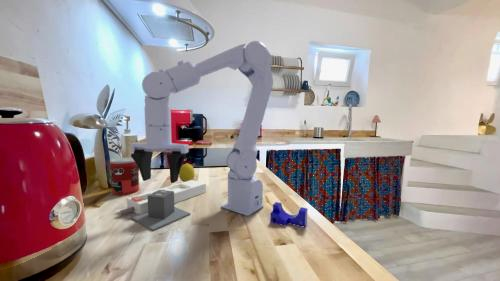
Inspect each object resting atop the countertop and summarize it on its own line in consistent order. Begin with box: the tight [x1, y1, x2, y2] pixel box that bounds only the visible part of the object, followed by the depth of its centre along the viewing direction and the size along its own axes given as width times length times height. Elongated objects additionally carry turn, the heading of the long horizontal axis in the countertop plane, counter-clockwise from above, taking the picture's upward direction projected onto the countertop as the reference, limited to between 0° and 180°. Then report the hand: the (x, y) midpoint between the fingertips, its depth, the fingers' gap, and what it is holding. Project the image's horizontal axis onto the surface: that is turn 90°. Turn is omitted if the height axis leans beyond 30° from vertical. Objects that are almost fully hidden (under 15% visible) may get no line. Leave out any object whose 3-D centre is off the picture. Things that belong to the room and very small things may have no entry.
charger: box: [148, 189, 175, 219], centre depth 54 cm, size 4×4×6 cm
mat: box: [130, 206, 191, 232], centre depth 54 cm, size 10×10×1 cm
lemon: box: [178, 162, 196, 183], centre depth 80 cm, size 6×6×8 cm
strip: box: [119, 179, 207, 216], centre depth 64 cm, size 25×7×4 cm, turn 144°
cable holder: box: [269, 201, 309, 228], centre depth 51 cm, size 8×4×4 cm, turn 62°
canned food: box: [109, 156, 140, 196], centre depth 71 cm, size 8×8×11 cm
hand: (160, 180), depth 53 cm, fingers open, 7 cm apart
